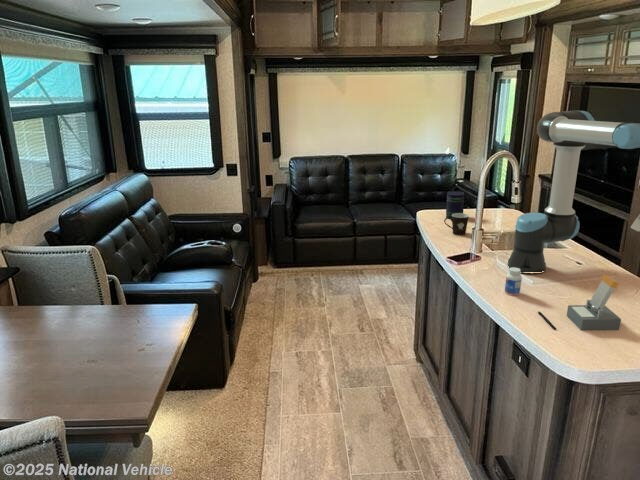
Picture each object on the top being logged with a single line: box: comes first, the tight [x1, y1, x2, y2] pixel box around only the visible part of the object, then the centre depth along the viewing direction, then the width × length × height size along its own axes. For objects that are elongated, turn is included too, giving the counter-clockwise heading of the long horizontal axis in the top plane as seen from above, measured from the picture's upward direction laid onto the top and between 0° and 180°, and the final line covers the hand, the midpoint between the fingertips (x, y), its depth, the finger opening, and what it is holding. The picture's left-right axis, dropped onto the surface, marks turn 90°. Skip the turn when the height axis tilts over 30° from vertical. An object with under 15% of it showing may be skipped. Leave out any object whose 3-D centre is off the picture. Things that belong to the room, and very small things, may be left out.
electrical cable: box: [537, 310, 557, 331], centre depth 158 cm, size 12×1×1 cm, turn 0°
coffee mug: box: [444, 212, 470, 236], centre depth 248 cm, size 12×9×10 cm
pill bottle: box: [504, 267, 523, 296], centre depth 177 cm, size 6×5×10 cm
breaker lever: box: [588, 274, 620, 314], centre depth 152 cm, size 2×6×12 cm, turn 179°
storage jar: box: [445, 190, 465, 219], centre depth 275 cm, size 10×10×15 cm
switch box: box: [566, 299, 622, 332], centre depth 154 cm, size 12×10×6 cm
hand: (634, 229), depth 150 cm, fingers open, 13 cm apart
